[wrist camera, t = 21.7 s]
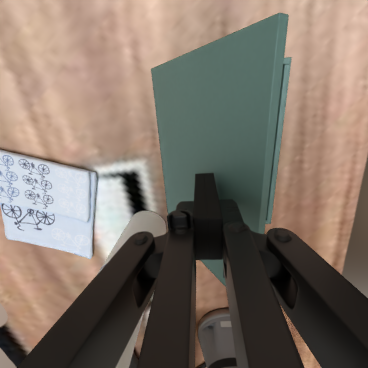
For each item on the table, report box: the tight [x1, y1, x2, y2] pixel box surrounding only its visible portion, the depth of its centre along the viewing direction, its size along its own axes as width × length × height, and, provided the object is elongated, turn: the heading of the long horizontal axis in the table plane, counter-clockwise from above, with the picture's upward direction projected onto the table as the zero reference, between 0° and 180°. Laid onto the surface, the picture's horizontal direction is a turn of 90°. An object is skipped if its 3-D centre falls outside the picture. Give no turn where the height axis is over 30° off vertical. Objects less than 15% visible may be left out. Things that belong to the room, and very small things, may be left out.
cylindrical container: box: [98, 211, 166, 368], centre depth 26 cm, size 7×7×25 cm
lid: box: [151, 13, 289, 287], centre depth 19 cm, size 15×20×1 cm
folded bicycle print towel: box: [0, 150, 97, 259], centre depth 36 cm, size 19×20×2 cm
